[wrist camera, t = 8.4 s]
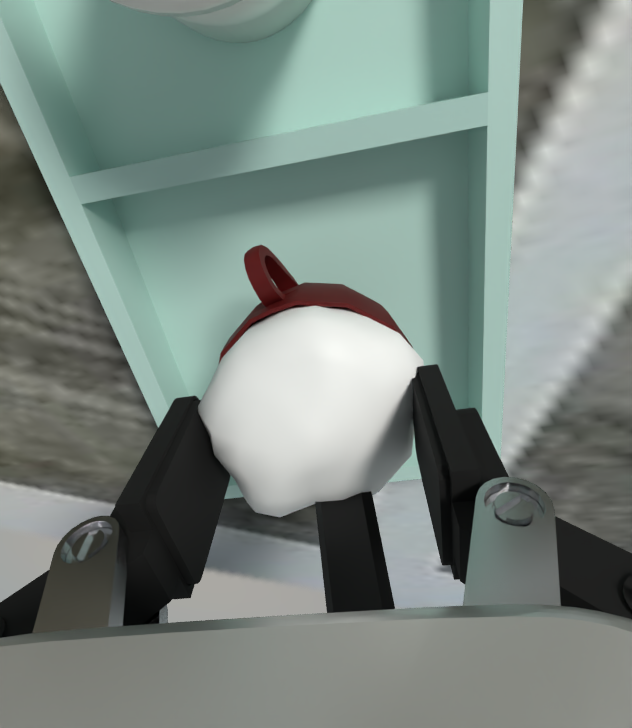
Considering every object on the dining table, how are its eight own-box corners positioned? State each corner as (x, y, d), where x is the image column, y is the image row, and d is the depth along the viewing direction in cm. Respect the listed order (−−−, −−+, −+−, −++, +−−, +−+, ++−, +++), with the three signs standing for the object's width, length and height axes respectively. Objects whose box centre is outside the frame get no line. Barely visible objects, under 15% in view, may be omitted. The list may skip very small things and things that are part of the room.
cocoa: (231, 226, 14) (-117, 477, 4) (422, 228, 14) (639, 519, 3) (253, 451, 19) (122, 856, 8) (398, 457, 18) (458, 896, 8)
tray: (495, -619, 8) (568, -948, 6) (479, 426, 21) (500, 470, 19) (-127, -375, 10) (-288, -546, 7) (208, 458, 23) (192, 502, 20)
